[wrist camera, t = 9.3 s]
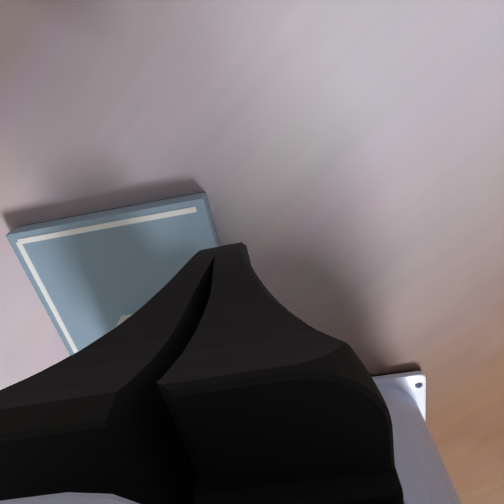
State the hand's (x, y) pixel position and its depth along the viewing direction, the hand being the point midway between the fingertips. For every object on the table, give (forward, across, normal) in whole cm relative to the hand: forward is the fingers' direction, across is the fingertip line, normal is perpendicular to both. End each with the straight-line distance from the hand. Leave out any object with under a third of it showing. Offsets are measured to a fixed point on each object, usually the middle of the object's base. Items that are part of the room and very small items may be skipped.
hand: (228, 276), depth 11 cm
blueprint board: (+10, +8, +8) cm, 15 cm away
